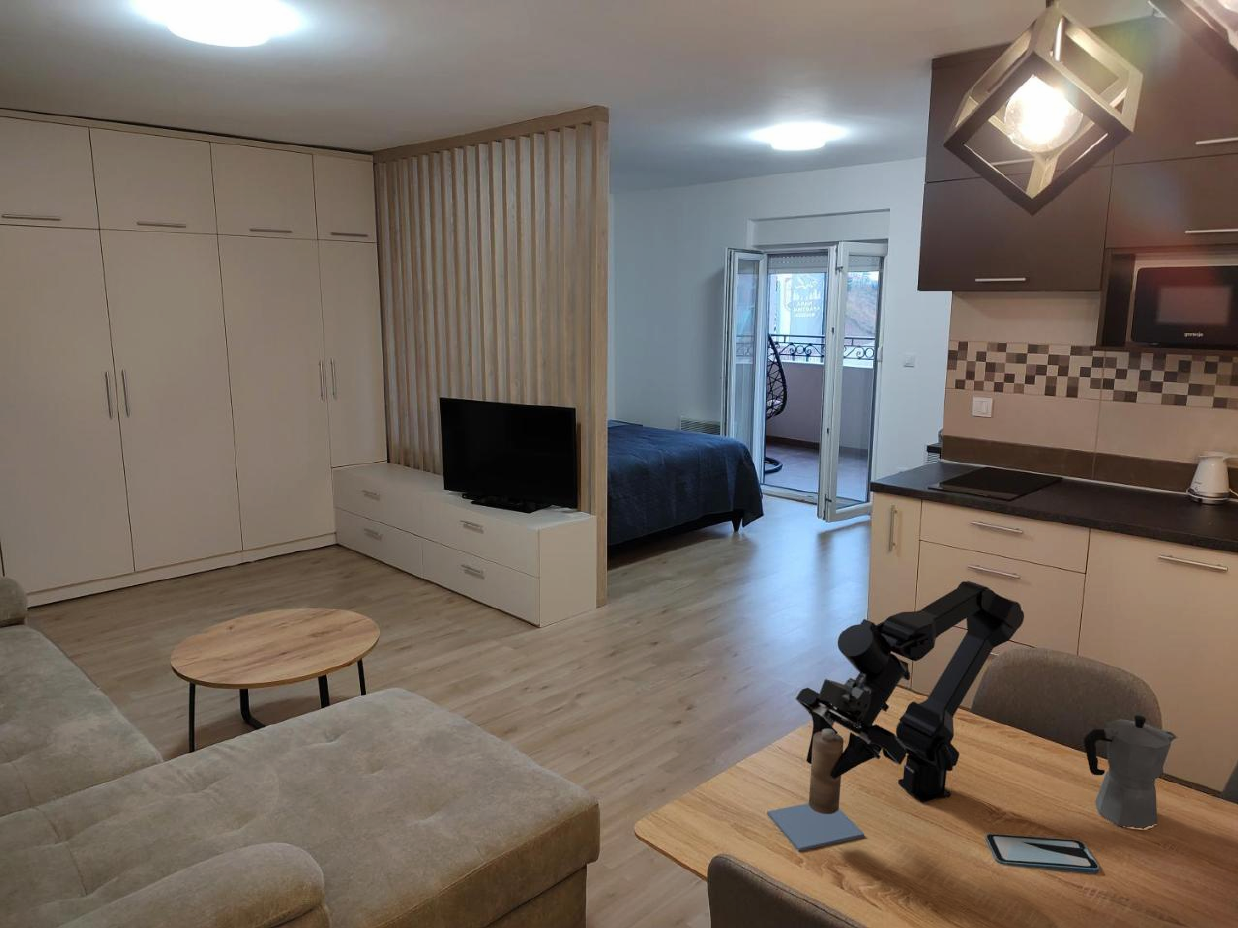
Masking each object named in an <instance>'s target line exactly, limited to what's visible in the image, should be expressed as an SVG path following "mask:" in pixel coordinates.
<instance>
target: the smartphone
mask: <svg viewBox="0 0 1238 928" xmlns="http://www.w3.org/2000/svg"><path fill="white" fill-rule="evenodd" d="M984 839H985V841H986V843H987V846H988V847H989V849H990V851H991V854H992V855H993V858H994V860H995V861H996V862H997V863H998V864H1000V865H1004V866H1012V867H1020V868H1021V867H1023V868H1033V869H1042V870H1044V869H1045V870H1053V871H1062V872H1063V871H1064V872H1074V873H1086V874H1088V873H1089V874H1098V873H1099V871H1100V865H1099V864H1098V862H1097V861H1096V859H1095V858H1094V856H1093V855H1092V853H1091V851H1090V849H1089V848H1088V847H1087V845H1086V844H1085V843H1084V842H1083V841H1081V840H1078V839H1074V838H1061V837H1060V838H1058V837H1057V838H1056V837H1045V836H1044V837H1041V836H1030V835H1029V836H1028V835H1015V834H1003V833H1002V834H1001V833H986V834H985V836H984Z"/></svg>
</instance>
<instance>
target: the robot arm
mask: <svg viewBox="0 0 1238 928" xmlns="http://www.w3.org/2000/svg"><path fill="white" fill-rule="evenodd" d="M965 619H966V633H965V635H964V637H963V639H962V640H961V641H960V642H959V643H960V644H959V645H958V647H957V648H956V650H955V652H954V653H953V654H952V657H951V658H950V661H948V664H947V665H946V666H945V668H944V670H943V672H942V673H941V675H940V677H939V678H938V681H937V682H936V683H935V686H934V687H933V688H932V690H931V692H930V694H929V695H928V697H927V698H926V700H923V701H922V702H919V703H917V702H916V701H911V702H910V703H909V704H908V705H907V708H906V710H905V712H904V713H903V715H902V716H901V717H899V721H898V723H897V725H896V727H895V728H896V729H895V733H893V732H891V731H890V730H888V729H886V728H884V727H882V726H880V725H878V724H877V723H876V724H874V722H875V721H876V719H877V717H878V716H879V715H880V713H881V711H883V712H885V713H886V712H887V711H888V710H889V708H890V706H889V705H888V703H887V702H888V700H889V698H891V696H892V695H893V694H892V693H893V692H894V690H895V689H896V687H897V685H898V684H899V683H900V681H901V679H904V680H905V681H910V680H911V673H910V671H909V663H908V662H907V661H904V660H902V659H900V658H899V657H897V656H896V655H898V656H901V657H904V658H905V659H907V660H910V661H912V662H917V661H920V660H922V659H923V658H924V657H925V656H926V655H928V654H929V653H930V652H931V651H933V649H935V647H936V646H935V644H936V640H937V638H938V637H939V636H940V635H942V634H943V633H945V632H947V631H948V630H950V629H951V628H953V627H955V626H956V625H958V624H959V623H961V622H962V621H964V620H965ZM1024 619H1025V612H1024V611H1023V610H1022V607H1021V604H1020V603H1019V602H1018V601H1015V600H1012V599H1009V598H1006V597H1003V596H1001V595H999V593H998V594H997V593H996V592H995V591H994V590H992V589H990V587H988V586H985V585H983V584H980V583H976V582H973V581H971V580H967V581H965V580H963V581H961V582H960V583H959V584H958V586H957V587H956V588H954V589H953V590H952V591H950V592H948V593H946V594H944V595H943V596H941V597H939V598H938V599H936V600H935V601H933V602H932V603H931V602H930V604H928V605H926V606H925V607H923V608H921V609H919V610H915V611H914V610H913V611H902V612H897V613H895V614H893V615H890V616H888V617H886V619H884V621H882V622H880V623H878V624H876V623H874V622H872V621H871V620H867V619H866V618H864V619H863V620H862V621H861V622H860V624H853V625H850V626H849V627H847V628H845V630H842V631H841V633H839V636H838V640H837V647H838V650H839V652H840V653H841V654H842V655H843V656H844V657H845V659H847V661H848V662H849V663H850V664H851V665H852V667H854V669H856V670H857V672H859V673H858V674H857V676H856V678H855V679H853V678H852V677H850V678H848V679H847V680H846V682H845V683H844V684H843V683H840V682H837V681H833V680H830V679H826V678H825V679H824V681H823V683H822V687H821V689H820V691H819V692H817V691H816V690H813V689H812V688H810V687H806V688H802V689H801V690H800V691H799V693H798V694H797V696H796V697H795V700H796V701H797V702H798V703H799V705H801V706H802V707H803V708H804V709H805V710H806V712H808V714H809V715H810V716H811V719H812V732H811V737H810V738H811V739H810V743H809V747H808V751H807V755H806V758H805V759H806V762H807V763H808V764H810V765H811V762H812V747H813V735H814V734H815V733H817V732H821V731H822V730H823V729H832V730H834V731H835V733H836V734H839V733H838V732H839V731H837V730H836V729H835V728H834V727H833V726H834V724H835V723H836V724H838V725H840V726H842V727H844V728H845V729H847V730H849V731H851V732H850V733H849V737H848V743H847V746H846V748H845V749H844V750H843V754H842V755H841V757H840V758H839V760H838V761H837V763H836V764H835V766H834V768H833V770H832V772H831V774H830V776H831V777H832V778H833V779H836V778H838V777H839V776H841V777H842V776H843V775H844V774H846V773H848V772H849V771H851V770H852V769H854V768H856V767H858V766H860V765H862V764H864V763H866V762H868V761H870V760H872V759H878V760H879V759H881V755H880V753H881V752H883V756H884V757H885V758H886V759H888V760H889V761H891V762H893V763H895V764H897V765H898V766H901V764H902V763H903V761H904V759H905V758H906V761H905V764H904V767H903V775H902V776H903V777H902V778H901V779H898V785H900V786H901V787H902V788H903V789H904V790H906V791H907V792H908V793H909V794H911V796H913V797H914V799H916V800H917V801H919V802H920V803H926V802H929V801H935V800H940V799H945V798H950V797H951V796H952V795H951V794H952V792H950V791H949V790H948V789H947V788H946V780H947V773H948V772H951V771H953V768H954V767H955V766H956V765H957V764H958V761H959V758H960V757H959V756H960V752H959V751H958V750H957V748H956V747H955V746H954V745H953V744H952V741H953V738H954V735H955V732H954V731H955V730H954V729H955V728H954V716H955V714H956V712H957V711H958V709H959V707H960V705H961V704H962V702H963V701H964V699H965V697H966V696H967V694H968V692H969V690H970V688H971V687H972V685H973V684H974V682H975V680H976V679H977V677H978V675H979V674H980V671H981V670H982V668H983V667H984V665H985V663H986V661H987V659H988V658H989V656H990V654H991V653H992V652H993V649H995V648H996V647H998V646H1001V645H1002V644H1004V643H1006V642H1009V641H1010V640H1011V639H1012V637H1013V636H1014V635H1015V633H1016V632H1017V630H1019V628H1021V626H1022V624H1023V623H1024ZM893 653H894V654H893ZM895 654H896V655H895Z"/></svg>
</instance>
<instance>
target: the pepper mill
mask: <svg viewBox="0 0 1238 928" xmlns="http://www.w3.org/2000/svg"><path fill="white" fill-rule="evenodd" d="M844 742H845V741H844V738H843V737H842V736H841V735H839V733H837V734H836V733H835V731H834V730H832V729H823V730H822V731H821V732H817V733H815V734H814V735H813V747H812V762H811V764H810V765H811V766H810V779H809V780H810V781H809V793H808V794H809V795H808V803H809V806H810V807H811V808H812V809H813V810H814V811H816V812H818V813H822V814H833V813H835V812H837V811H838V809H840V808H839V807H840V797H841V796H840V795H841V780H842V775H841V776H839V777H838V778H836V779H833V778H832V777H831V776H830V774H831V772H832V770H833V768H834V766H835V764H836V763H837V761H838V760H839V758H840V757H841V755H842V754H843V752H844Z"/></svg>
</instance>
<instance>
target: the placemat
mask: <svg viewBox="0 0 1238 928" xmlns="http://www.w3.org/2000/svg"><path fill="white" fill-rule="evenodd" d="M766 815H767V816H768V817H769V818H770V820H772V822H773V823H774V824H775V825H776V827H777V828H778V829H779V830H780V831H781V832H782V834H783V835H785V837H786V838H787V839H788V841H789V842H790V843H791V844H792V845H793V847H794V848H795V849H796V850H797V851H798V852H800V851H805V850H810V849H814V848H818V847H824V846H829V845H832V844H837V843H841V842H845V841H846V842H847V841H851V840H855V839H860V838H863V837H864V838H865V833H864V832H863V831H862V830H861V828H859V826H858V825H856V824H855V823H854V822H853V821H852V819H850V818H849V817H848V816H847V814H845V813H844V812H843V811H842V809H840V808H839V809H838V811H837V812H835V813H833V814H822V813H818V812H816V811H814V810H813V809H812V808H811V807H810V806H809V802H807V803H803V804H798V805H797V804H796V805H792V806H787V807H783V808H778V809H773V810H768V811H767V812H766Z"/></svg>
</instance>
